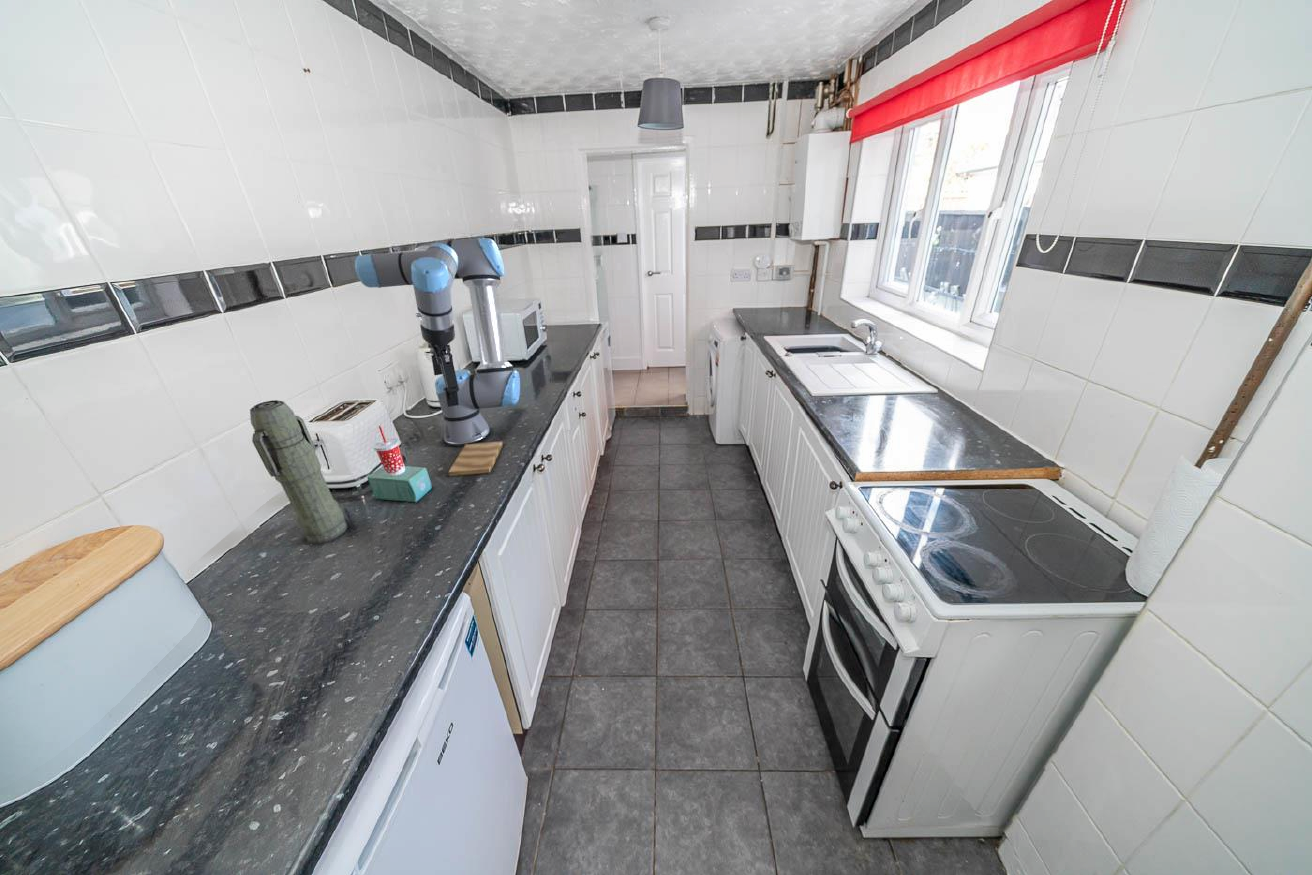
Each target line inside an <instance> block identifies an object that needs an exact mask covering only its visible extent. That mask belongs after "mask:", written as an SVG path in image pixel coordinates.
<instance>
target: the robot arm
mask: <svg viewBox="0 0 1312 875" xmlns="http://www.w3.org/2000/svg"><path fill="white" fill-rule="evenodd" d="M354 267H355V268H354V269H355V272H356V275H357V277H358V279H359V281H360V283H361V284H362V285H363V286H365V287H366V288H369V289H370V288H371V289H372V288H378V289H381V288H389V287H400V286H413V291H414V297H415V301H416V307H417V311H418V312H417V313H415V317H416V318H418V319H419V325H420V326H419V327H420V332H421V337H422V339H423V341H425V342H427V344H428V345H427V347H428V349H430V350H429V352H430V354H431V355H430V357H431V363H432V369H433V375H434V376H439V375H441V376H439V377H437V378H436V380H435V381H434V387H435V391H436V393H435V394H436V396H437V399H438V403H439V405H440V409H441V413H442V417H443V419H444V426H443V427H444V428H443V440H444V444H446V445H448V446H450V447H464V446H465V445H466V444H477V443H481V442H483V441H484V440H486V439H487V438H488V437H489V436H490V435H491V429H490V426H489V424H488V422H487V421H486V420H485V418H484V417H483V415H482V414H481V411H480V409H490V408H501V407H502V408H506V407H511V406H515V405H516V404H518V402H519V400H520V395H521V378H520V373H519V371H518V370H516V369H515V370H514V366H513V364H512V363H510V362H509V360H508V356H507V349H506V343H505V336H504V330H503V329H504V328H503V323H502V316H501V308H500V302H499V295H498V287H499V285H500V284H501V277H504V276H505V274H506V272H505V265H504V261H503V258H502V255H501V251H500V249H499V247H498V245H497V243H496V242H495V241H494V240H493V239H492V238H489V237H485V238H484V237H475V238H474V237H473V238H464V239H463V238H461V239H447V240H446V239H445V240H440V241H439V240H438V241H435V242H432V243H428V244H424V245H423V244H422V245H419V246H417V247H415V249H412V250H411V249H410V250H401V251H391V252H383V253H381V252H380V253H367V254H359V255H358V256H357V257H356V258H355V261H354ZM454 280H462V284H463V285H464V286H465V287H466V288H467V289H468V292H469V298H470V304H471V311H472V317H473V324H474V325H473V326H474V330H475V336H476V343H477V350H478V356H479V362H480V363H479V364H478V366H477V367H476V374H472V372H471V371H470V369H457V370H455V364H454V358H453V357H454V356H453V354H452V353H451V345H450V343H451V342H453V341H454V340H455V337H456V330H455V324H454V323H455V321H454V319H455V318H454V311H453V305H452V296H451V295H452V294H451V293H452V292H451V290H452V288H453V287H452V286H453V284H454Z"/></svg>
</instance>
